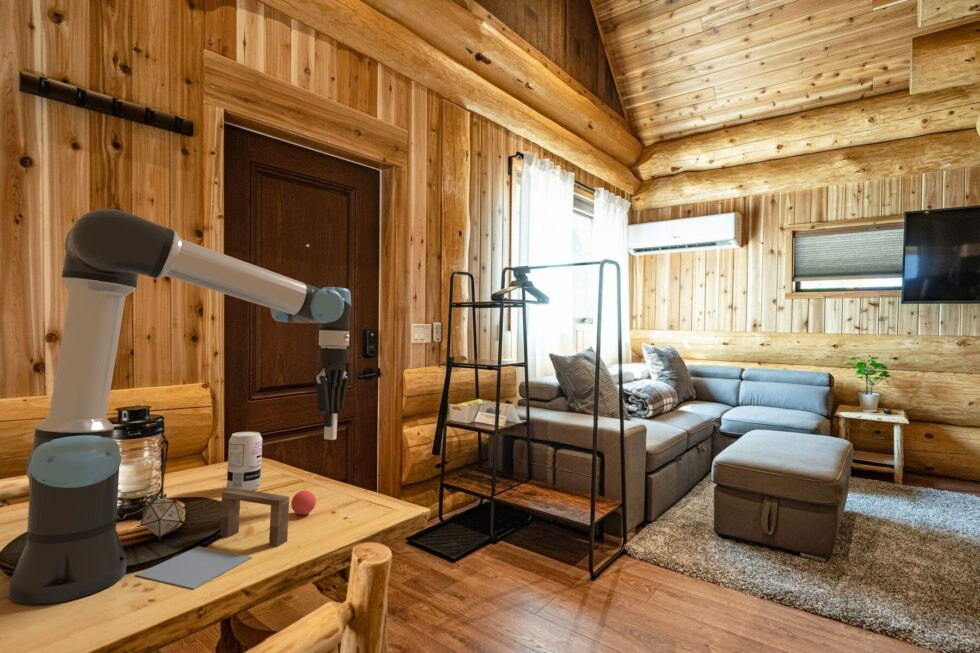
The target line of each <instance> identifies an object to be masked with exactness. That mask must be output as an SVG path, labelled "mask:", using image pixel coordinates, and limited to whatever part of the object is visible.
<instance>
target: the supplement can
mask: <svg viewBox="0 0 980 653" xmlns="http://www.w3.org/2000/svg"><path fill="white" fill-rule="evenodd" d="M262 452H263V437H262V436H261V432H257V431H238V432H234V433H232V434H231V437H230V438H229V440H228V454H227V455H228V457H227V472H226V474H227V476H226V490H229V489H232V488H237V489H243V490H250V491H255V490H258V488H259V487H260V486H261V476H262V458H263V457H262V456H263V454H262Z"/></svg>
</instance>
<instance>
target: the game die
mask: <svg viewBox="0 0 980 653" xmlns="http://www.w3.org/2000/svg"><path fill="white" fill-rule="evenodd" d="M146 504H147V505H148V506H146V508H145V510H144V509H141V510H140V514H142V518H141V521H140V524H139V525H136V527H140V526H146V528H148V529H149V531H148V532H151V534H153V535H154V536H156V537H157V540H160V541H161V540H162V537H163V536H165V535H167V534H169V533H171V532H175V531H176V530H177V531H178V529H176V528H177V527H178V526H179V525H180V524H183V525H184V524H185V521H184V520H182V518H183V515H184V514H183V511H184V510H185V509H187V508H188V506H187V505H184V506H182V505H180V504H179V503H178V498H175V499H174V500H173V499H170V498H168V497H167V493H165V494H163V497H162V498H159V499H158V500H155V501H153V502H151V501H149V500H148V501H147V500H146ZM140 528H141V527H140ZM174 530H175V531H174Z"/></svg>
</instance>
